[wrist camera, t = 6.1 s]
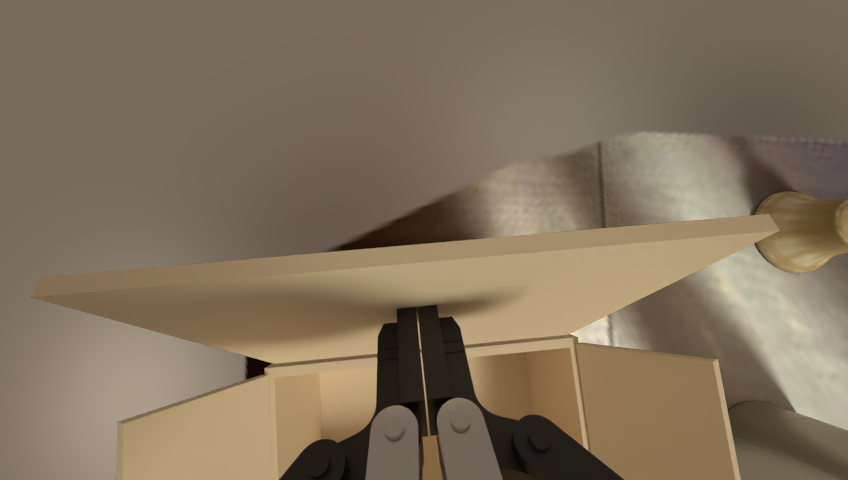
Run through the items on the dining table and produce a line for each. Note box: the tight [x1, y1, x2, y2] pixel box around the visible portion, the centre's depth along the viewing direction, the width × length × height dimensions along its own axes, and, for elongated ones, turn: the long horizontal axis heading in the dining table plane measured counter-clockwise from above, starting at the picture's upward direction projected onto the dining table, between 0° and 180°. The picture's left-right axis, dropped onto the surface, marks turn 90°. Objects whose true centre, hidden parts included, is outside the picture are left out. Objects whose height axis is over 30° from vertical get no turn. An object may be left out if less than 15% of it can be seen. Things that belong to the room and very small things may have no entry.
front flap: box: [31, 214, 780, 364], centre depth 14 cm, size 18×14×1 cm
